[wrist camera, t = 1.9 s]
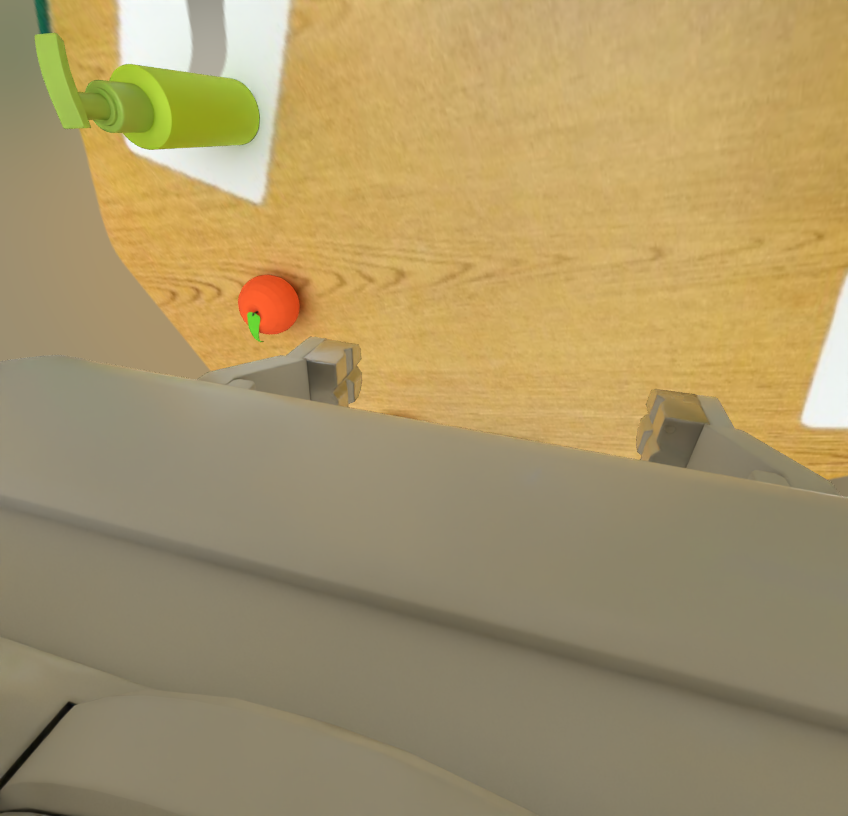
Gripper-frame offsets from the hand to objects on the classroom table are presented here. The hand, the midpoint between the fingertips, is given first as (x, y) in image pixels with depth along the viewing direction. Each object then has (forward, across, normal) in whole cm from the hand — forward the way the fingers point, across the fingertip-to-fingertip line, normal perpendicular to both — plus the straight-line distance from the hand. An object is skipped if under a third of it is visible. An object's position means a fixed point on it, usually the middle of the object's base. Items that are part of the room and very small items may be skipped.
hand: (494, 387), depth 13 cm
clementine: (+39, +30, +14) cm, 51 cm away
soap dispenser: (+39, +33, -7) cm, 52 cm away
